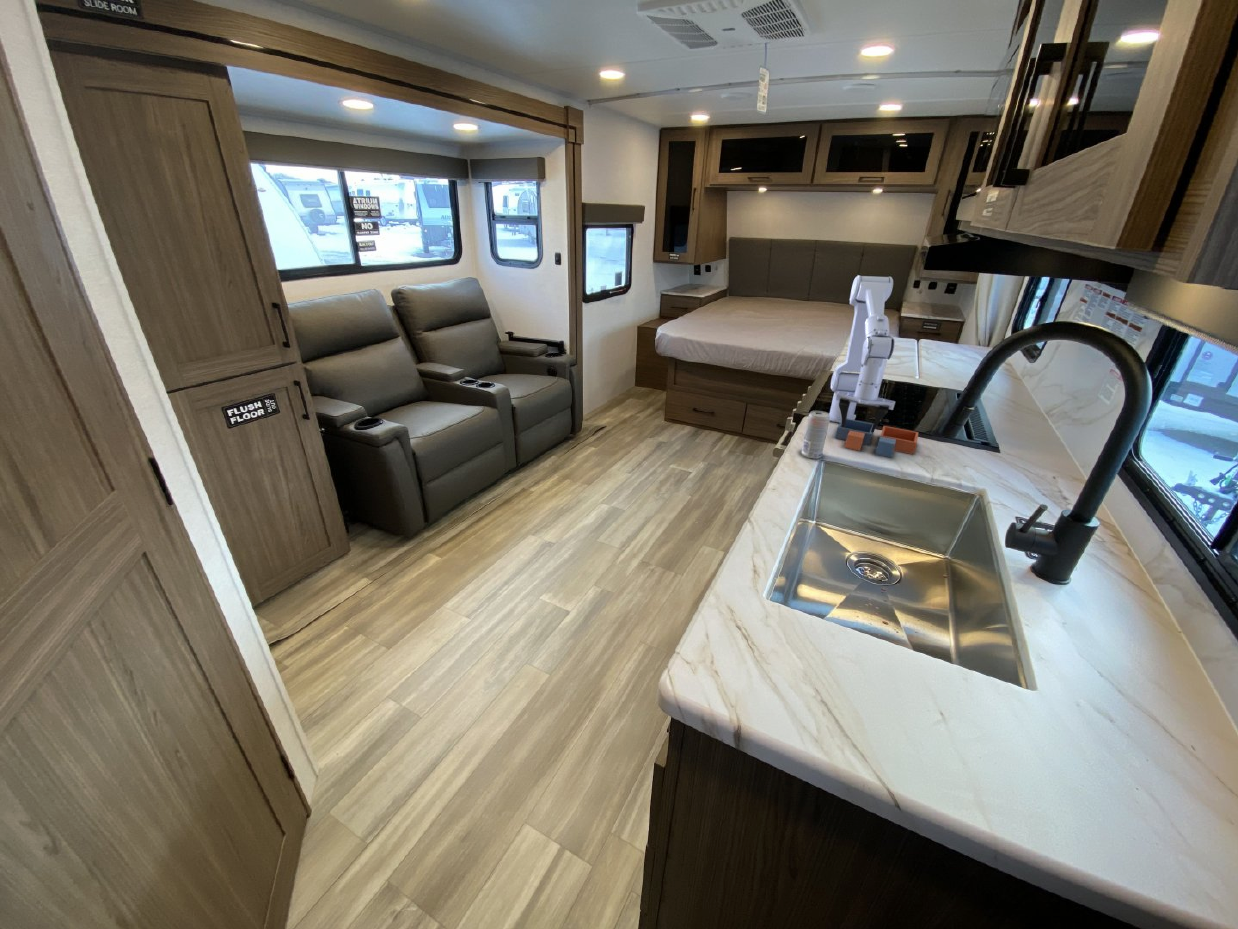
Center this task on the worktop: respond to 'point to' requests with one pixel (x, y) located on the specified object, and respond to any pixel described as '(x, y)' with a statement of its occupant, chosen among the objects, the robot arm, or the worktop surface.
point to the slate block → (885, 446)
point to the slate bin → (855, 426)
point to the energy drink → (815, 434)
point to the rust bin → (901, 438)
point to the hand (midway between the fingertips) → (857, 428)
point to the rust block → (854, 440)
